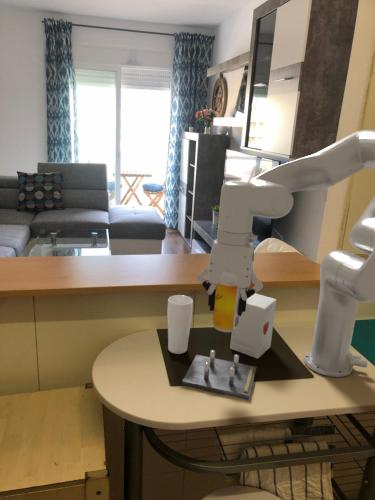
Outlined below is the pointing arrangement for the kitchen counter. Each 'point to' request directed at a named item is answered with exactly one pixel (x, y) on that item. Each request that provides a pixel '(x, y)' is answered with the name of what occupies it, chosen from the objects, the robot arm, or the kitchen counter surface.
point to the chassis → (220, 376)
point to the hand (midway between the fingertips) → (226, 310)
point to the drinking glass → (179, 322)
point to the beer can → (226, 303)
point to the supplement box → (255, 326)
